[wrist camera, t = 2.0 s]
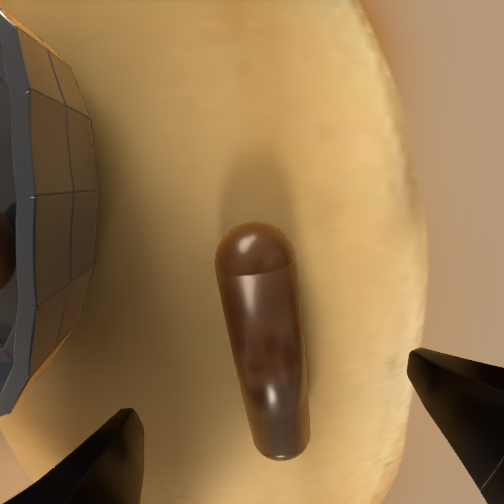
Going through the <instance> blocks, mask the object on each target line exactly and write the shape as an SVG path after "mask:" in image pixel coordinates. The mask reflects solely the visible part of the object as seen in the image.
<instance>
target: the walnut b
mask: <svg viewBox="0 0 504 504" xmlns="http://www.w3.org/2000/svg"><path fill="white" fill-rule="evenodd" d="M15 270H16V232H15V229H14V227H13V225H12V223H11V222H10V221H9V219H8V218H7V217H6V216H5V215H4V214H3V213H2V212H1V211H0V290H2V289H3V288H4V287H5V286H6V285H7V284H8V283H9V281H10V280H11V278H12V276H13V275H14V272H15Z"/></svg>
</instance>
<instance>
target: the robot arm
mask: <svg viewBox="0 0 504 504" xmlns="http://www.w3.org/2000/svg"><path fill="white" fill-rule="evenodd" d="M407 375H408V378H409V379H410V381H411V383H412V385H413V387H414V388H415V390H416V392H417V394H418V396H419V397H420V399H421V401H422V403H423V405H424V407H425V408H426V410H427V411H428V413H429V414H430V416H431V417H432V418H433V420H434V422H435V423H436V424H437V426H438V427H439V429H440V430H441V432H442V433H443V435H444V436H445V438H446V439H447V440H448V442H449V443H450V445H451V447H452V448H453V449H454V451H455V453H456V454H457V456H458V457H459V459H460V460H461V461H462V463H463V465H464V466H465V468H466V469H467V471H468V473H469V474H470V475H471V477H472V479H473V480H474V482H475V484H476V485H477V487H478V488H479V490H481V491H480V492H481V494H482V495H483V497H484V498H485V500H486V502H487V503H488V504H504V368H502V367H498V366H493V365H489V364H485V363H481V362H476V361H472V360H468V359H464V358H460V357H456V356H452V355H448V354H444V353H440V352H436V351H432V350H429V349H425V348H417V349H415V350H412V351H411V352H410V353H409V359H408V366H407ZM143 473H144V427H143V425H142V423H141V421H140V419H139V417H138V415H137V413H136V411H135V410H134V409H133V408H122V409H120V410H119V411H118V412H117V413H116V414H115V415H113V416H112V417H111V418H110V419H109V420H108V421H107V422H106V423H104V424H103V425H102V426H101V427H100V428H99V429H98V430H97V431H95V432H94V433H93V434H92V435H91V436H90V437H89V438H87V439H86V440H85V441H84V442H83V443H82V444H81V445H79V446H78V447H77V448H76V449H75V450H74V451H72V452H71V453H70V454H69V455H68V456H67V457H65V458H64V459H63V460H62V461H61V462H60V463H58V464H57V465H56V466H55V468H52V469H51V470H50V471H49V472H48V473H47V474H45V475H44V476H43V477H42V478H40V479H39V480H38V481H36V482H35V483H34V484H32V485H31V486H29V487H28V488H26V489H25V490H24V491H22V492H20V493H19V494H17V495H16V496H14V497H12V498H11V499H9V500H8V501H6V502H5V503H3V504H140V499H141V490H142V482H143Z"/></svg>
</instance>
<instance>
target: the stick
mask: <svg viewBox="0 0 504 504" xmlns="http://www.w3.org/2000/svg"><path fill="white" fill-rule="evenodd" d="M215 270H216V275H217V280H218V285H219V290H220V295H221V300H222V305H223V310H224V315H225V320H226V325H227V329H228V334H229V339H230V343H231V348H232V352H233V357H234V361H235V366H236V370H237V375H238V379H239V383H240V388H241V392H242V396H243V400H244V404H245V409H246V413H247V417H248V421H249V425H250V429H251V433H252V437H253V441H254V444H255V446H256V448H257V449H258V451H259V452H260V453H261V454H262V455H263V456H265V457H267V458H269V459H272V460H276V461H286V460H290V459H293V458H295V457H297V456H298V455H300V454H301V453H302V452H303V451H304V450H305V449H306V447H307V445H308V443H309V441H310V434H311V433H310V415H309V398H308V383H307V370H306V357H305V345H304V334H303V323H302V312H301V302H300V293H299V283H298V274H297V265H296V257H295V252H294V249H293V247H292V244H291V242H290V241H289V240H288V238H287V237H286V235H285V234H284V233H283V232H281V231H280V230H279V229H277V228H276V227H274V226H272V225H270V224H267V223H263V222H248V223H243V224H241V225H239V226H237V227H235V228H233V229H232V230H230V231H229V232H228V233H227V234H226V235H225V236H224V237H223V239H222V240H221V242H220V244H219V246H218V248H217V251H216V255H215Z"/></svg>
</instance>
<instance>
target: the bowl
mask: <svg viewBox="0 0 504 504" xmlns="http://www.w3.org/2000/svg"><path fill="white" fill-rule="evenodd" d="M98 190H99V185H98V179H97V172H96V164H95V156H94V147H93V137H92V126H91V119H90V115H89V113H88V111H87V108H86V106H85V103H84V101H83V98H82V96H81V93H80V91H79V88H78V86H77V83H76V80H75V78H74V75H73V72H72V70H71V68H70V67H69V65H68V64H67V63H66V62H65V61H64V60H63V59H62V58H61V57H60V56H59V55H58V54H57V53H56V52H55V51H54V50H52V49H51V48H50V47H49V46H48V45H47V44H46V43H45V42H44V41H43V40H42V39H40V38H39V37H38V36H36V35H35V34H34V33H33V32H31V31H30V30H29V29H27V28H26V27H25V26H23V25H22V24H21V23H19V22H18V21H17V20H16V19H14V18H13V17H12V16H10V15H9V14H8V13H6V12H5V11H4V10H2V9H1V8H0V211H1V212H2V213H3V214H4V215H5V216H6V217H7V218H8V219H9V221H10V222H11V223H12V225H13V227H14V229H15V232H16V270H15V272H14V275H13V276H12V278H11V280H10V281H9V283H8V284H7V285H6V286H5V287H4V288H3V289H2V290H0V416H3V415H6V414H9V413H11V412H12V411H13V410H14V408H15V407H16V405H17V404H18V403H19V401H20V400H21V399H22V397H23V396H24V395H25V393H26V392H27V391H28V389H29V388H30V387H31V386H32V384H33V383H34V381H35V380H36V379H37V378H38V376H39V375H40V374H41V373H42V371H43V370H44V369H45V368H46V366H47V365H48V364H49V363H50V361H51V360H52V359H53V358H54V356H55V355H56V353H57V352H58V350H59V349H60V347H61V346H62V345H63V343H64V342H65V340H66V339H67V338H68V336H69V335H70V333H71V332H72V331H73V329H74V328H75V326H76V324H77V323H78V319H79V315H80V311H81V308H82V304H83V300H84V297H85V294H86V290H87V287H88V283H89V280H90V277H91V274H92V271H93V267H94V266H93V265H94V262H95V238H96V223H97V211H98V201H99V191H98Z"/></svg>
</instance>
